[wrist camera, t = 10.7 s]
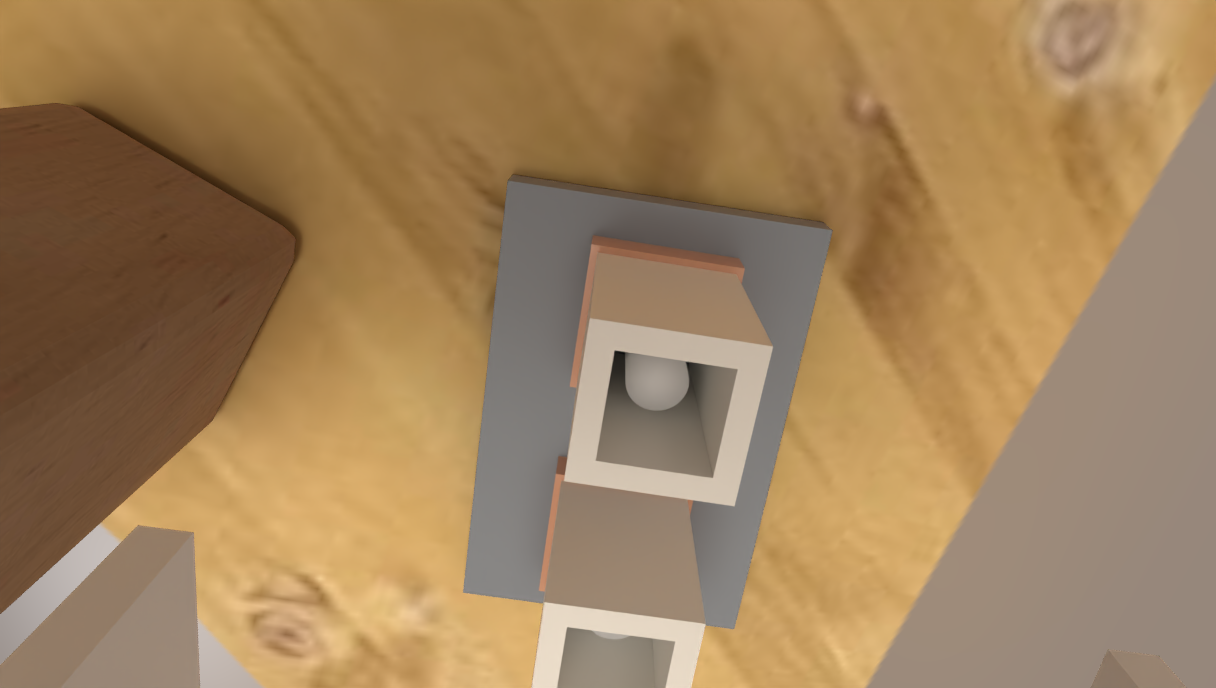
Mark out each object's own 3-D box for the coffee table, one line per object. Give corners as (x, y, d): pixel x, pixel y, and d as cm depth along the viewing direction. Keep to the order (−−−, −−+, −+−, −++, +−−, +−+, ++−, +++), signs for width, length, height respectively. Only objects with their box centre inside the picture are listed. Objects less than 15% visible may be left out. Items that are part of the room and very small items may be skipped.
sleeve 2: (558, 456, 33) (537, 594, 25) (691, 474, 34) (715, 618, 25) (542, 568, 35) (517, 733, 27) (668, 586, 36) (683, 754, 27)
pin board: (512, 174, 31) (480, 211, 24) (823, 222, 32) (881, 272, 24) (469, 571, 37) (433, 694, 30) (729, 607, 38) (754, 736, 31)
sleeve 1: (593, 235, 30) (582, 307, 22) (739, 258, 31) (784, 339, 22) (571, 371, 32) (554, 487, 24) (709, 392, 32) (741, 514, 24)
